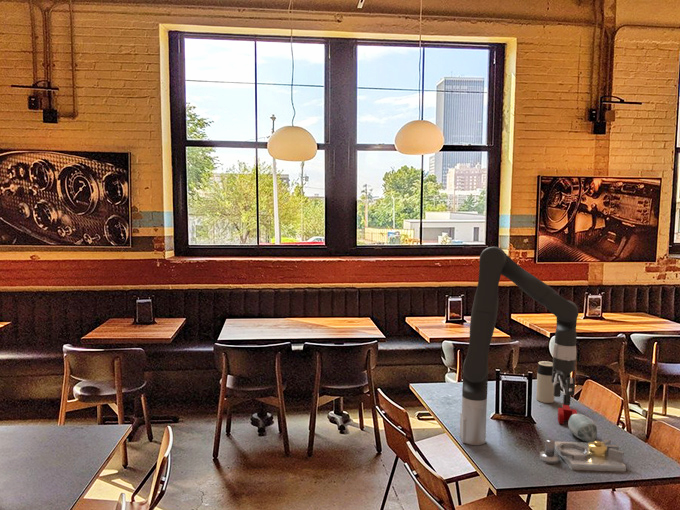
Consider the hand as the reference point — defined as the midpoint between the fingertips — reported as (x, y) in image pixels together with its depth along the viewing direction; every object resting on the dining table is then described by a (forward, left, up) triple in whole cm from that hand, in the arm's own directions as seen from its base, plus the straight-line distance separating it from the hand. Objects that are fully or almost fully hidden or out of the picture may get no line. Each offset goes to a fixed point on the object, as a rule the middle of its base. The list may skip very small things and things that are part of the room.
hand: (561, 400), depth 185 cm
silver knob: (-5, -4, -20) cm, 21 cm away
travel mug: (+15, +58, -21) cm, 63 cm away
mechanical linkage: (+16, +35, -21) cm, 44 cm away
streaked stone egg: (+15, +17, -21) cm, 31 cm away
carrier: (+9, -2, -20) cm, 22 cm away
